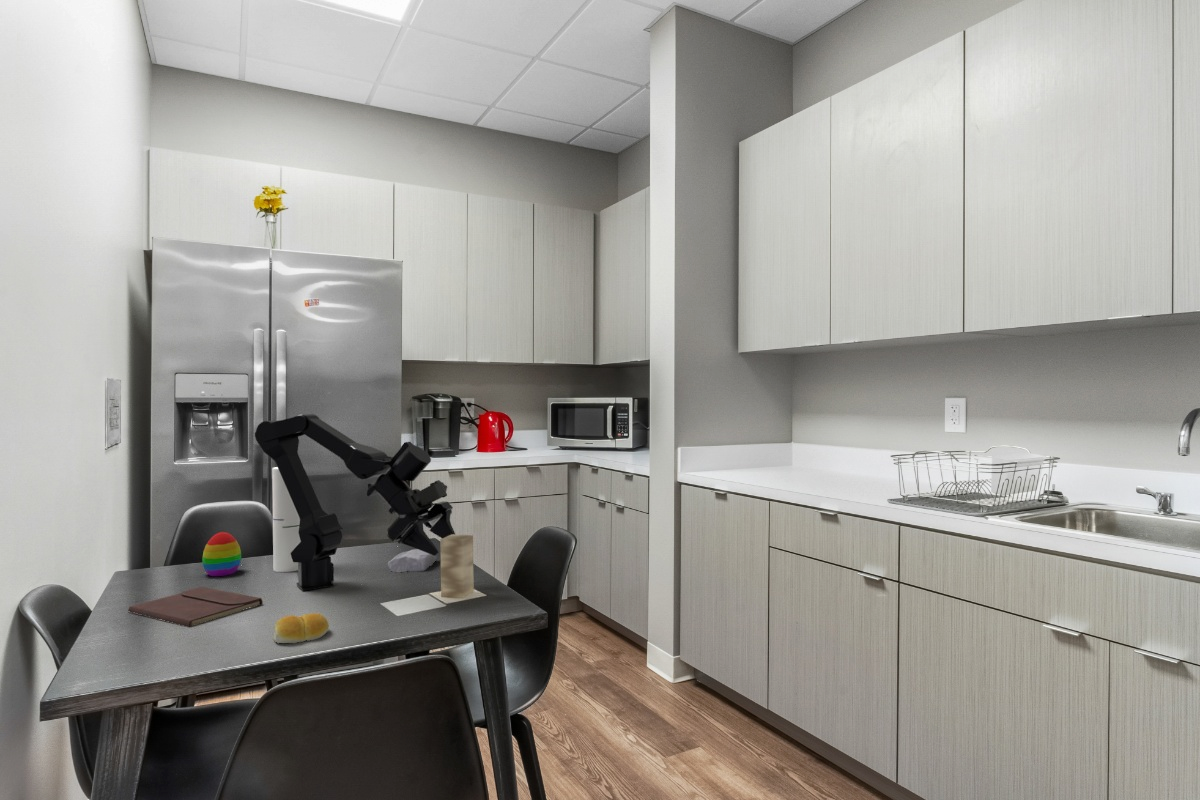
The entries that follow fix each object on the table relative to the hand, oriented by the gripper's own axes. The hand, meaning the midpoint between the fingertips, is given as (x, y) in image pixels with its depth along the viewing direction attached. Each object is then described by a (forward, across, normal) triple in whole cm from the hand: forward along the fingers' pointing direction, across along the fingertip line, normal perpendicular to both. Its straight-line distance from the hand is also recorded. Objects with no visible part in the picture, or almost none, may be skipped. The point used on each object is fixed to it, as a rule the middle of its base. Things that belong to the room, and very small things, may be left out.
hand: (447, 549), depth 141 cm
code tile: (+8, 0, +5) cm, 10 cm away
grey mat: (+4, -8, +9) cm, 13 cm away
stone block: (-8, +20, +22) cm, 31 cm away
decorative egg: (-38, +4, +50) cm, 63 cm away
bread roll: (-3, -28, +17) cm, 33 cm away
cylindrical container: (-29, +12, +42) cm, 52 cm away
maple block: (+8, 0, +5) cm, 10 cm away
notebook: (-25, -19, +39) cm, 50 cm away
